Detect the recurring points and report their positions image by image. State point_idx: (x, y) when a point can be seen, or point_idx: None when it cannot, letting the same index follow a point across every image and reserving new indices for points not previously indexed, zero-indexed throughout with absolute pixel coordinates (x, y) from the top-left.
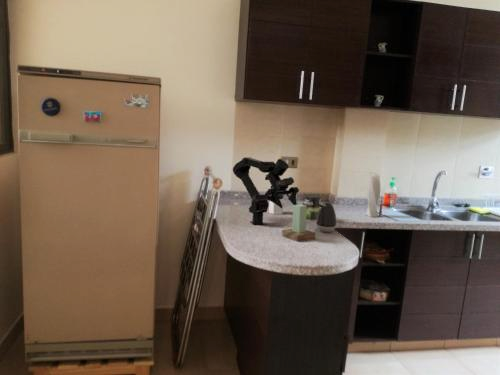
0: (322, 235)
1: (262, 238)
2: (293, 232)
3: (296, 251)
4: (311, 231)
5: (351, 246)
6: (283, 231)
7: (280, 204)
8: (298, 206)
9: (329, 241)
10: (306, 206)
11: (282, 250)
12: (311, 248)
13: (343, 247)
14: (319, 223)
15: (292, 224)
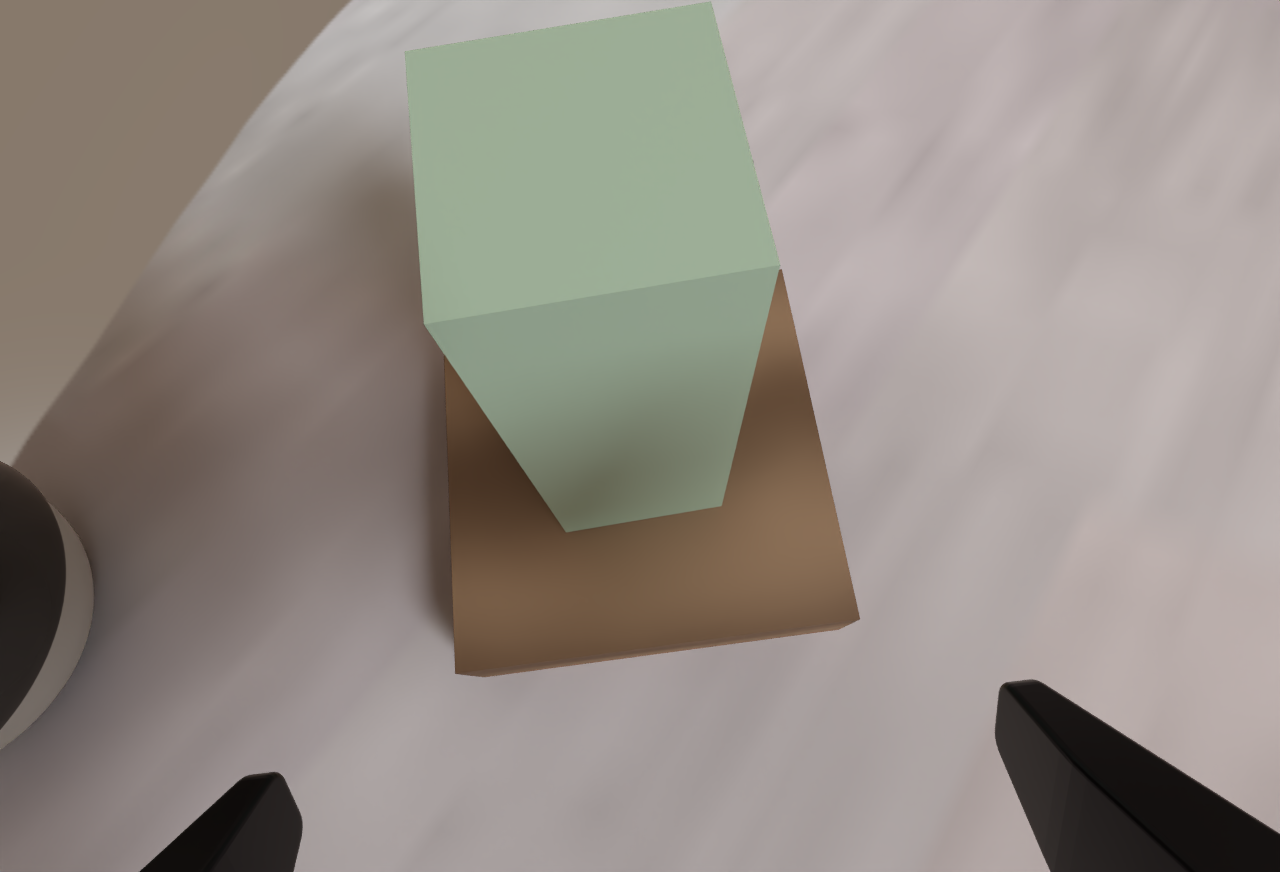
0: (247, 454)
1: (1213, 622)
2: (755, 421)
3: (989, 44)
4: (446, 382)
5: (333, 23)
6: (848, 588)
7: (1146, 758)
8: (722, 56)
9: (393, 212)
10: (422, 65)
11: (1130, 105)
12: (773, 76)
13: (434, 20)
14: (33, 591)
15: (729, 473)
